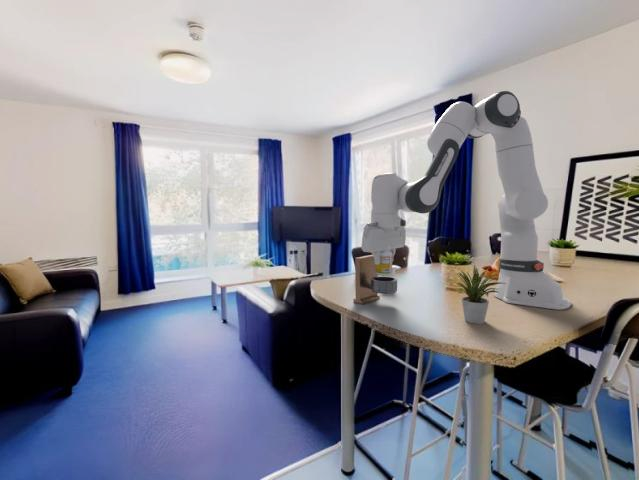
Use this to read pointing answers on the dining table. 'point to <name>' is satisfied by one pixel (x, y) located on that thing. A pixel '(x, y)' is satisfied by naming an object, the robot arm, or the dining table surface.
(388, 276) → the smoothie
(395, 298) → the dining table surface
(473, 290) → the house plant
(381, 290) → the cup bracket
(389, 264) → the supplement bottle
